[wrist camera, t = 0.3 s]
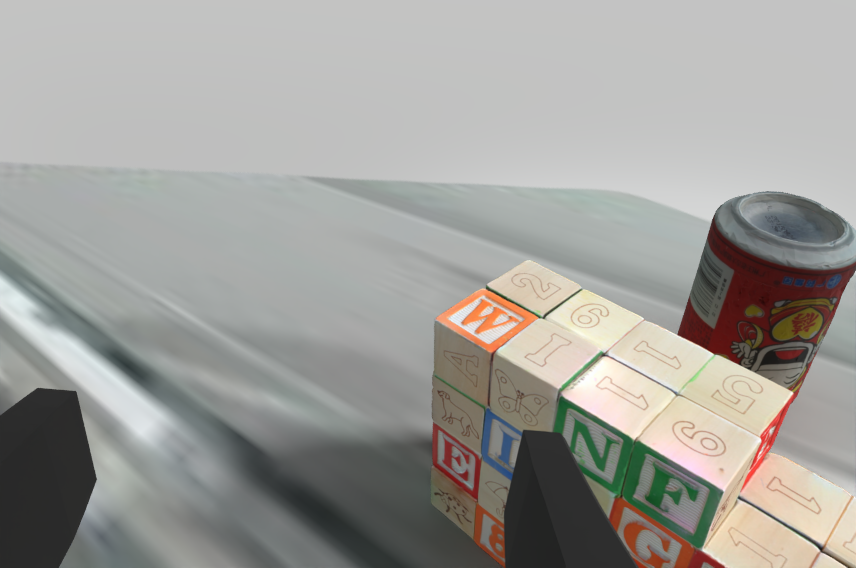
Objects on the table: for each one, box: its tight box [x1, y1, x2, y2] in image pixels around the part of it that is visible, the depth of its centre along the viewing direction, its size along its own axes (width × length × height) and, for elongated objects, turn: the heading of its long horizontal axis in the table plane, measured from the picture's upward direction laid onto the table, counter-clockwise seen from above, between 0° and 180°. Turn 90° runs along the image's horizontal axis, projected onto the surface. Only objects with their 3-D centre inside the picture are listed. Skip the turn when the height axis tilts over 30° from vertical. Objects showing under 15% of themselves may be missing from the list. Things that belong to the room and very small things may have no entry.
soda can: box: [677, 191, 856, 404], centre depth 39 cm, size 7×7×12 cm
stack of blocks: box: [431, 260, 856, 568], centre depth 28 cm, size 21×6×12 cm, turn 45°
